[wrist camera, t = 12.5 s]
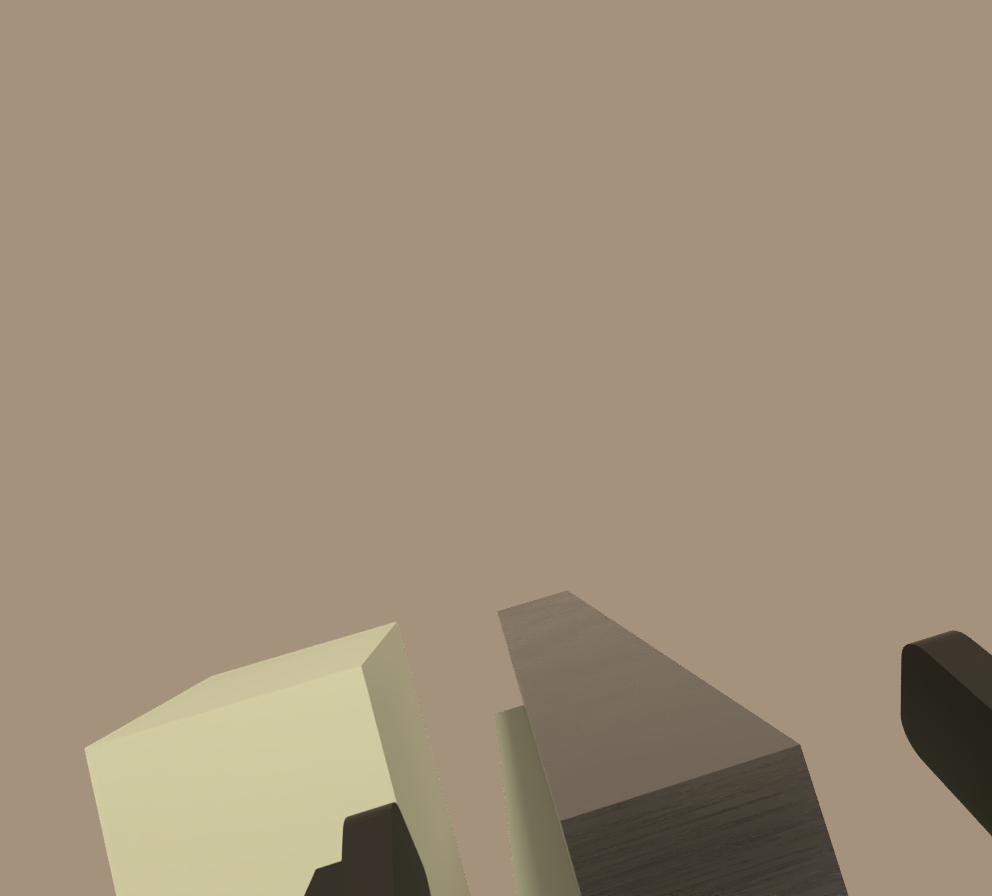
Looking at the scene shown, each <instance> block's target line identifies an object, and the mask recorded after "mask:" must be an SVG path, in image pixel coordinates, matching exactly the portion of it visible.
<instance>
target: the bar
mask: <svg viewBox="0 0 992 896" xmlns="http://www.w3.org/2000/svg"><path fill="white" fill-rule="evenodd" d="M498 614H499V618H500V621H501V625H502V629H503V632H504V636H505V639H506V643H507V646H508V650H509V654H510V657H511V661H512V664H513V668H514V671H515V675H516V678H517V682H518V685H519V689H520V692H521V696H522V699H523V702H524V706H525V710H526V713H527V716H528V720H529V723H530V727H531V730H532V734H533V737H534V740H535V744H536V747H537V751H538V754H539V758H540V761H541V765H542V768H543V771H544V775H545V778H546V782H547V785H548V789H549V792H550V795H551V799H552V802H553V806H554V809H555V813H556V816H557V820H558V823H559V826H560V830H561V833H562V837H563V840H564V844H565V847H566V850H567V854H568V857H569V861H570V864H571V868H572V871H573V874H574V878H575V881H576V885H577V888H578V892H579V895H580V896H848V893H847V890H846V887H845V884H844V880H843V877H842V874H841V871H840V868H839V865H838V862H837V859H836V855H835V852H834V849H833V846H832V843H831V840H830V837H829V834H828V831H827V827H826V824H825V821H824V818H823V815H822V812H821V809H820V805H819V802H818V800H817V796H816V793H815V790H814V787H813V784H812V780H811V777H810V774H809V771H808V768H807V765H806V762H805V759H804V755H803V752H802V749H801V746H800V744H798V743H797V742H795V741H794V740H792V739H791V738H789V737H788V736H786V735H785V734H783V733H782V732H780V731H779V730H777V729H776V728H774V727H773V726H771V725H770V724H768V723H767V722H765V721H764V720H762V719H761V718H759V717H758V716H756V715H755V714H753V713H752V712H750V711H748V710H747V709H745V708H744V707H742V706H741V705H739V704H738V703H737V702H735V701H733V700H732V699H730V698H729V697H727V696H726V695H724V694H723V693H721V692H720V691H718V690H717V689H715V688H714V687H712V686H711V685H709V684H708V683H706V682H705V681H703V680H702V679H700V678H699V677H697V676H696V675H694V674H693V673H691V672H690V671H688V670H686V669H685V668H684V667H682V666H681V665H679V664H678V663H676V662H675V661H673V660H672V659H670V658H668V657H667V656H665V655H664V654H663V653H661V652H659V651H658V650H656V649H655V648H653V647H652V646H650V645H649V644H647V643H646V642H644V641H643V640H641V639H640V638H638V637H637V636H635V635H634V634H632V633H631V632H629V631H628V630H626V629H625V628H623V627H622V626H620V625H619V624H617V623H616V622H614V621H612V620H611V619H609V618H608V617H607V616H605V615H604V614H602V613H601V612H599V611H598V610H596V609H595V608H593V607H592V606H590V605H588V604H587V603H585V602H584V601H582V600H581V599H579V598H578V597H576V596H575V595H573V594H572V593H570V592H569V591H565V592H561V593H558V594H554V595H551V596H548V597H544V598H541V599H538V600H534V601H531V602H527V603H524V604H521V605H517V606H514V607H511V608H507V609H504V610H501V611H498Z"/></svg>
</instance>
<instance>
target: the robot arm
mask: <svg viewBox="0 0 992 896" xmlns="http://www.w3.org/2000/svg"><path fill="white" fill-rule="evenodd" d="M901 661H902V663H901V721H902V725H903V728H904V731H905V734H906V735H907V738H908V740H909V742H910V744H911V745H912V747H913V748H914V750H915V752H916V753H917V754H918V756H919V757H920V758H921V759H922V760H923V762H925V764H926V765H927V766H928V767H929V768H930V769H931V770H932V771H933V772H934V774H935V775H936V776H937V777H938V778H939V779H940V780H941V781H942V782H943V783H944V784H945V786H947V788H948V789H949V790H950V791H951V792H952V793H953V794H954V795H955V796H956V798H957V799H958V800H959V801H960V802H961V803H962V804H963V805H964V806H965V807H966V808H967V809H968V811H969V812H970V813H971V814H972V815H973V816H974V817H975V818H976V819H977V820H978V822H979V823H980V824H981V825H982V826H983V827H984V828H985V829H986V830H987V831H988V832H989V833H990V834H991V836H992V655H991V654H989V653H988V652H987V651H986V650H984V649H983V648H982V647H981V646H979V645H978V644H977V643H976V642H974V641H973V640H972V639H971V638H969V637H968V636H966V635H965V634H963V633H961V632H958V631H949V632H946V633H943V634H939V635H936V636H933V637H930V638H926V639H923V640H920V641H917V642H914V643H911V644H908V645H906V646H905V647H904V648H903V650H902V659H901ZM304 896H431V893H430V888H429V884H428V880H427V876H426V872H425V869H424V866H423V864H422V861H421V859H420V856H419V854H418V852H417V849H416V847H415V844H414V842H413V840H412V837H411V835H410V832H409V830H408V828H407V825H406V823H405V820H404V818H403V816H402V813H401V811H400V809H399V806H398V805H397V803H396V802H393V803H389V804H386V805H383V806H380V807H377V808H373V809H370V810H367V811H364V812H360V813H357V814H354V815H351V816H348V817H346V818H345V820H344V824H343V836H342V860H341V861H340V862H336V863H333V864H330V865H327V866H324V867H321V868H317V869H316V870H315V872H314V874H313V877H312V879H311V881H310V883H309V886H308V888H307V890H306V893H305V895H304Z"/></svg>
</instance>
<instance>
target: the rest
mask: <svg viewBox="0 0 992 896" xmlns="http://www.w3.org/2000/svg"><path fill="white" fill-rule="evenodd" d="M495 717H496V727H497V736H498V744H499V753H500V761H501V770H502V778H503V787H504V796H505V804H506V813H507V822H508V830H509V839H510V847H511V856H512V865H513V873H514V881H515V890H516V896H580V895H579V892H578V888H577V885H576V881H575V878H574V874H573V871H572V868H571V864H570V861H569V857H568V854H567V850H566V847H565V844H564V840H563V837H562V833H561V830H560V826H559V823H558V820H557V816H556V813H555V809H554V806H553V802H552V799H551V795H550V792H549V789H548V785H547V782H546V778H545V775H544V771H543V768H542V765H541V761H540V758H539V754H538V751H537V747H536V744H535V740H534V737H533V734H532V730H531V727H530V723H529V720H528V716H527V713H526V710H525V706H524V705H523V706H519V707H516V708H513V709H510V710H507V711H504V712H500V713H497V714H495Z"/></svg>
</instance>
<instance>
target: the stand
mask: <svg viewBox="0 0 992 896" xmlns="http://www.w3.org/2000/svg"><path fill="white" fill-rule="evenodd" d="M85 753H86V757H87V762H88V767H89V772H90V776H91V781H92V785H93V790H94V795H95V799H96V804H97V808H98V813H99V818H100V822H101V827H102V832H103V836H104V841H105V845H106V850H107V855H108V859H109V863H110V868H111V873H112V878H113V882H114V887H115V891H116V896H304V895H305V893H306V890H307V888H308V886H309V883H310V881H311V879H312V877H313V874H314V872H315V870H316V869H317V868H321V867H324V866H327V865H330V864H333V863H336V862H340V861H341V860H342V836H343V824H344V820H345V818H346V817H348V816H351V815H354V814H357V813H360V812H364V811H367V810H370V809H373V808H377V807H380V806H383V805H386V804H389V803H393V802H396V803H397V805H398V806H399V809H400V811H401V813H402V816H403V818H404V820H405V823H406V825H407V828H408V830H409V832H410V835H411V837H412V840H413V842H414V844H415V847H416V849H417V852H418V854H419V856H420V859H421V861H422V864H423V866H424V869H425V872H426V876H427V880H428V884H429V888H430V893H431V896H470V892H469V889H468V885H467V881H466V877H465V874H464V870H463V866H462V862H461V858H460V855H459V851H458V847H457V843H456V840H455V836H454V833H453V828H452V825H451V821H450V818H449V813H448V810H447V806H446V802H445V799H444V795H443V791H442V788H441V784H440V780H439V776H438V773H437V769H436V765H435V761H434V757H433V754H432V750H431V746H430V743H429V739H428V735H427V731H426V727H425V724H424V720H423V716H422V712H421V709H420V705H419V701H418V698H417V694H416V690H415V686H414V683H413V679H412V675H411V671H410V667H409V664H408V660H407V656H406V652H405V649H404V645H403V641H402V637H401V634H400V630H399V626H398V623H397V622H393V623H390V624H387V625H383V626H380V627H377V628H373V629H370V630H366V631H363V632H360V633H356V634H353V635H349V636H346V637H343V638H339V639H336V640H332V641H329V642H326V643H322V644H319V645H315V646H312V647H309V648H305V649H302V650H299V651H295V652H292V653H288V654H285V655H282V656H278V657H275V658H272V659H268V660H265V661H261V662H258V663H254V664H251V665H248V666H244V667H241V668H238V669H234V670H231V671H228V672H224V673H221V674H217V675H214V676H211V677H209V678H208V679H206V680H204V681H202V682H200V683H199V684H197V685H195V686H193V687H192V688H190V689H188V690H186V691H185V692H183V693H181V694H179V695H178V696H176V697H174V698H172V699H171V700H169V701H167V702H165V703H163V704H162V705H160V706H158V707H157V708H155V709H153V710H151V711H150V712H148V713H146V714H144V715H143V716H141V717H139V718H137V719H135V720H133V721H132V722H130V723H128V724H126V725H125V726H123V727H121V728H119V729H118V730H116V731H114V732H112V733H111V734H109V735H107V736H105V737H104V738H102V739H100V740H98V741H96V742H95V743H93V744H92V745H89V746H88V747H86V748H85Z"/></svg>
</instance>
